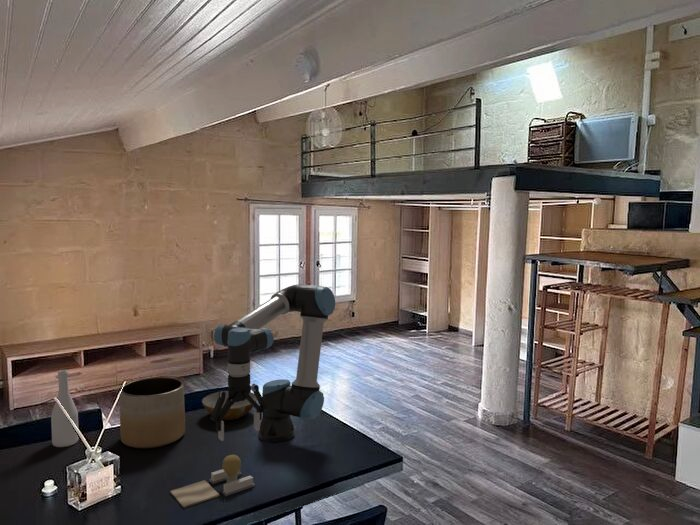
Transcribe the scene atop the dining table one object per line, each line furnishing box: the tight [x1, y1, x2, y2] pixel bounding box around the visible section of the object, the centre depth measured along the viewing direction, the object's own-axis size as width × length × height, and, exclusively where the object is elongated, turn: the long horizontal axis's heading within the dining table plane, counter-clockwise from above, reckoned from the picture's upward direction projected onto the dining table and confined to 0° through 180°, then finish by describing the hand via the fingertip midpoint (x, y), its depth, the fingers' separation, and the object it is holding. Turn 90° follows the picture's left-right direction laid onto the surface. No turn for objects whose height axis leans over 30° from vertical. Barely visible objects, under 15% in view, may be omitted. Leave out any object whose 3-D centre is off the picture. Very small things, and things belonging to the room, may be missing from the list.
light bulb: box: [221, 454, 242, 483], centre depth 181 cm, size 6×6×10 cm
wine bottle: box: [50, 369, 80, 448], centre depth 212 cm, size 10×10×30 cm
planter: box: [119, 376, 186, 450], centre depth 218 cm, size 25×25×22 cm
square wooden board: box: [169, 479, 220, 509], centre depth 175 cm, size 12×12×1 cm
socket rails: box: [209, 468, 256, 497], centre depth 182 cm, size 13×11×3 cm
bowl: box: [201, 391, 258, 421], centre depth 244 cm, size 25×25×8 cm
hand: (239, 434), depth 181 cm, fingers open, 13 cm apart
